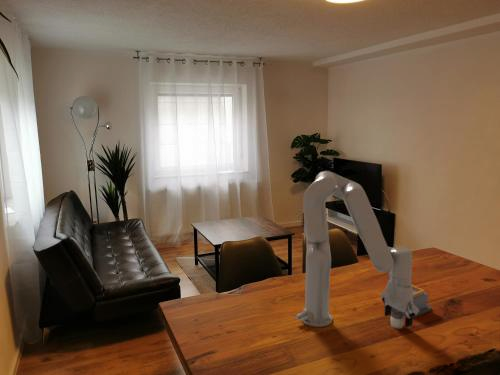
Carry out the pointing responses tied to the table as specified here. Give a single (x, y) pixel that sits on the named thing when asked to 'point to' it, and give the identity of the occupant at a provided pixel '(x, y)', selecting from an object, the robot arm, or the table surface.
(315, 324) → the robot arm
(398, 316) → the gray and white capsule
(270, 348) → the table surface
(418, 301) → the grey square peg holder
